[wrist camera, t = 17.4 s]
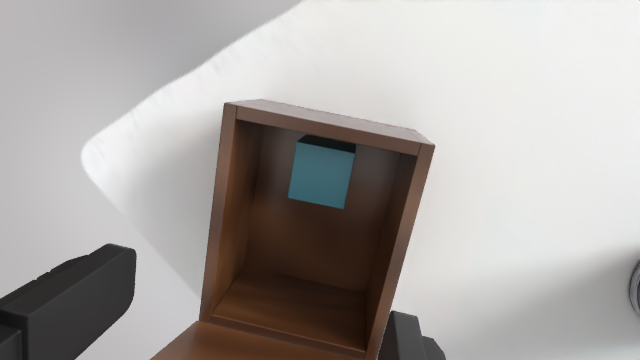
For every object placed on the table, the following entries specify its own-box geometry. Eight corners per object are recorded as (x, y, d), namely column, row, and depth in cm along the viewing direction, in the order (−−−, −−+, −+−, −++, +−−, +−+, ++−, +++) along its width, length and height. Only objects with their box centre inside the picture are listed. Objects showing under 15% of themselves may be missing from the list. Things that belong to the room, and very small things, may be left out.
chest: (260, 99, 32) (223, 102, 24) (415, 130, 31) (435, 145, 23) (237, 267, 36) (198, 321, 28) (372, 298, 36) (375, 364, 27)
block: (356, 144, 31) (355, 153, 27) (346, 193, 32) (343, 209, 28) (305, 134, 32) (296, 141, 27) (297, 183, 33) (287, 197, 28)
